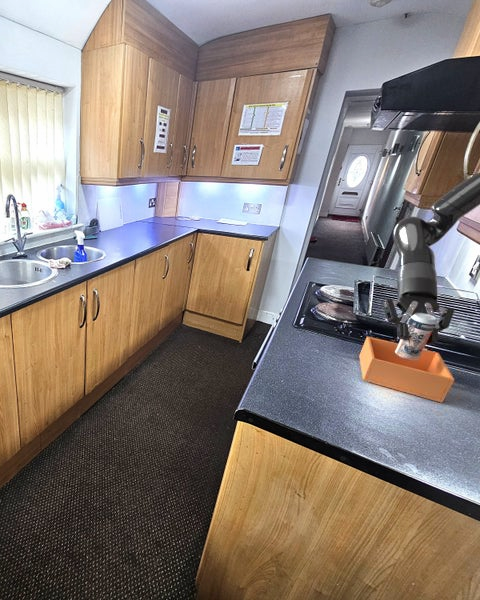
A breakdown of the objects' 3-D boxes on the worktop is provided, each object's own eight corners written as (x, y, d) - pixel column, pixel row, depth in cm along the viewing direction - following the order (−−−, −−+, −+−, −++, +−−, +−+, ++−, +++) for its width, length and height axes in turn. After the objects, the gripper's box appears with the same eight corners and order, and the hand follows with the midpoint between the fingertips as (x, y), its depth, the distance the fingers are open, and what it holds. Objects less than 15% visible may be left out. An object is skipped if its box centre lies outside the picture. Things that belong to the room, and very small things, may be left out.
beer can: (395, 357, 86) (414, 317, 81) (392, 349, 90) (410, 310, 85) (420, 363, 84) (441, 322, 79) (416, 354, 87) (436, 315, 82)
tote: (428, 373, 91) (438, 352, 89) (442, 402, 80) (454, 379, 77) (359, 355, 99) (367, 336, 97) (363, 380, 88) (372, 358, 85)
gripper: (390, 272, 88) (389, 330, 83) (462, 280, 83) (466, 343, 77) (376, 284, 95) (374, 339, 89) (442, 293, 89) (444, 352, 84)
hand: (417, 340), depth 83 cm, fingers closed on beer can, 4 cm apart
